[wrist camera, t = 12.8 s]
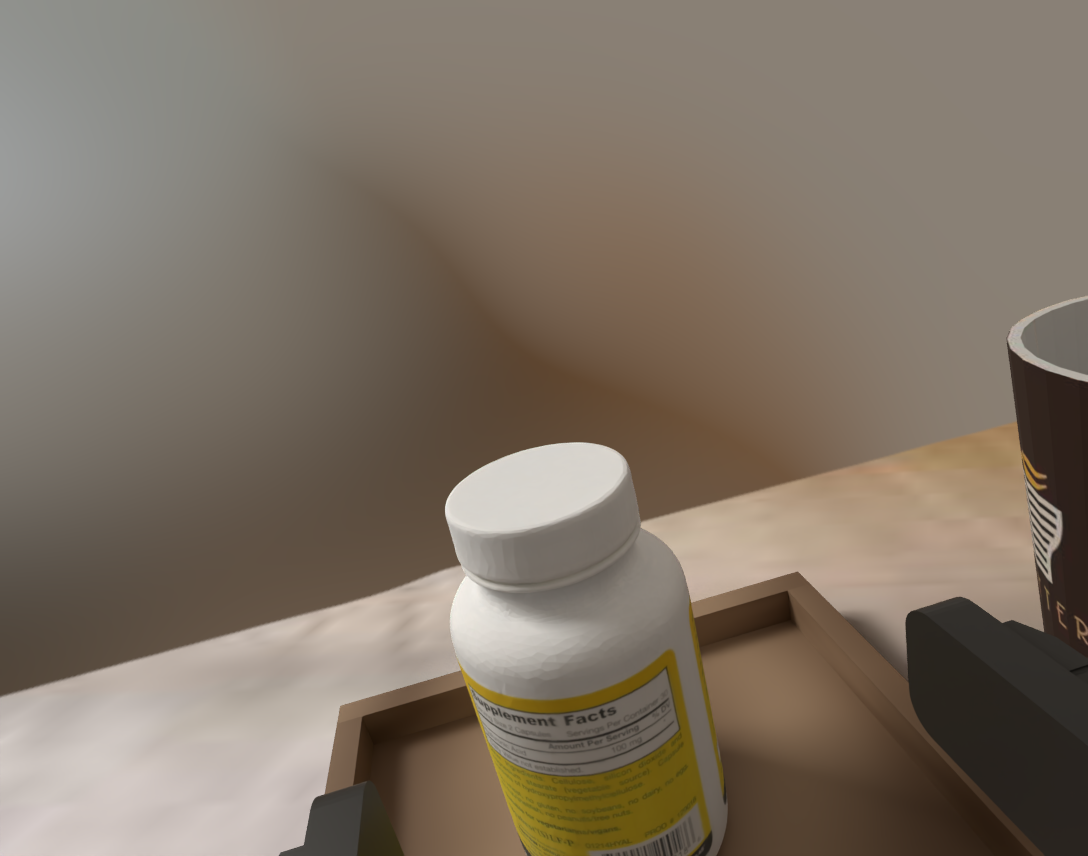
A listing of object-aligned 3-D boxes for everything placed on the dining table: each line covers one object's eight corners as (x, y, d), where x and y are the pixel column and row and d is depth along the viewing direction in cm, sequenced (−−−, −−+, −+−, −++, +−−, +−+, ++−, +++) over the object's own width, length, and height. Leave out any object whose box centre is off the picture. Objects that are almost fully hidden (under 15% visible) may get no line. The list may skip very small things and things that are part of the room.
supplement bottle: (584, 713, 21) (510, 425, 18) (758, 767, 18) (708, 430, 15) (479, 866, 17) (357, 532, 14) (679, 970, 14) (584, 570, 11)
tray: (287, 1278, 12) (249, 1223, 11) (357, 747, 23) (340, 705, 22) (1130, 976, 13) (1137, 912, 12) (802, 614, 24) (797, 571, 23)
